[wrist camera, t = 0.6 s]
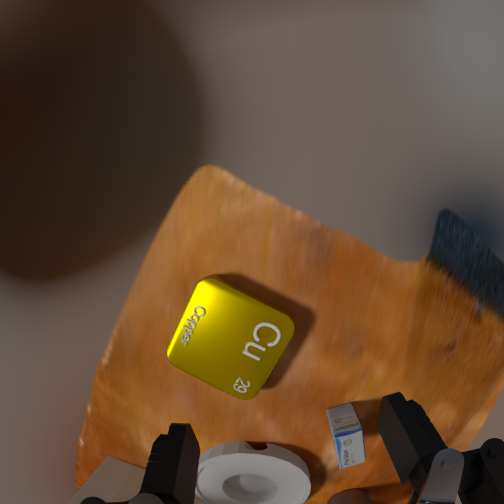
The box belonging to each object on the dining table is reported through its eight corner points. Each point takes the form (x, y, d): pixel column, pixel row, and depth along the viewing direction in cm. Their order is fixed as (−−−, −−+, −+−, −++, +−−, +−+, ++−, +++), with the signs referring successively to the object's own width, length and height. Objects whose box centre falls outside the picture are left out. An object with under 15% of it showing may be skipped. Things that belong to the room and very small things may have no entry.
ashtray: (260, 420, 42) (258, 434, 38) (331, 480, 42) (333, 492, 38) (172, 464, 44) (166, 475, 40) (244, 515, 43) (243, 527, 39)
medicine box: (355, 432, 41) (367, 461, 32) (332, 440, 41) (340, 470, 33) (350, 401, 41) (363, 429, 32) (325, 408, 41) (333, 438, 32)
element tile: (208, 269, 42) (200, 272, 38) (298, 314, 42) (301, 323, 37) (170, 350, 43) (160, 360, 38) (253, 391, 42) (250, 406, 38)
